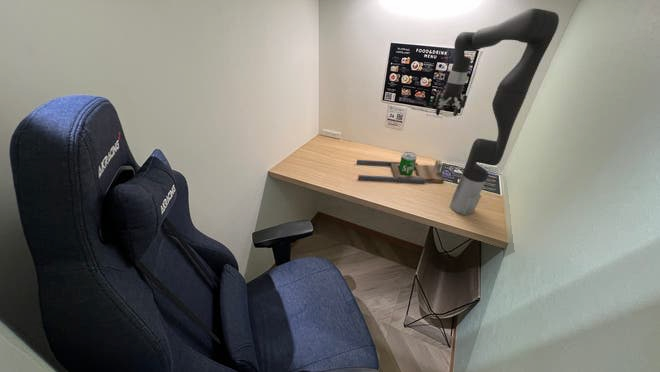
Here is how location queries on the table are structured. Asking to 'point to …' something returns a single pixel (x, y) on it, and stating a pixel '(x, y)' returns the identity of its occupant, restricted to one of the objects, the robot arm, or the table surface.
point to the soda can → (407, 163)
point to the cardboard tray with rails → (422, 172)
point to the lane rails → (384, 178)
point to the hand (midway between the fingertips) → (445, 115)
